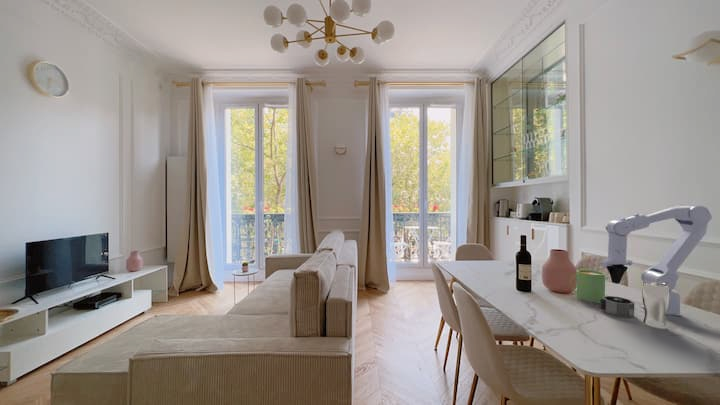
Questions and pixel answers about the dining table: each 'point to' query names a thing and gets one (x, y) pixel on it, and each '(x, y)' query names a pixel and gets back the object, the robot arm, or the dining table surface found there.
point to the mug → (590, 285)
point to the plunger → (617, 300)
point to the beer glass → (655, 304)
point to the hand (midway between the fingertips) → (615, 283)
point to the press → (617, 307)
